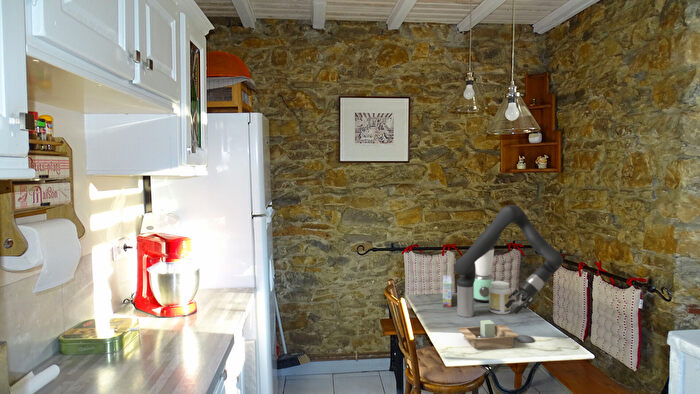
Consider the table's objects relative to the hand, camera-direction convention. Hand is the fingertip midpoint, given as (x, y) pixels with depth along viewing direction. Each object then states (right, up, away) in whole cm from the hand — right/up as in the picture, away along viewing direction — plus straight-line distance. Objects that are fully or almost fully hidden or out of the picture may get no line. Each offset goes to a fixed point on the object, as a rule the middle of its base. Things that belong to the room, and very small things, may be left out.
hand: (510, 309), depth 213 cm
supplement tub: (+10, -13, +44) cm, 47 cm away
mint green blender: (+7, -11, +67) cm, 69 cm away
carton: (-11, -16, -1) cm, 19 cm away
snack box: (-16, -12, +64) cm, 67 cm away
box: (-11, -16, -1) cm, 19 cm away
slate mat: (+8, -15, +2) cm, 17 cm away
